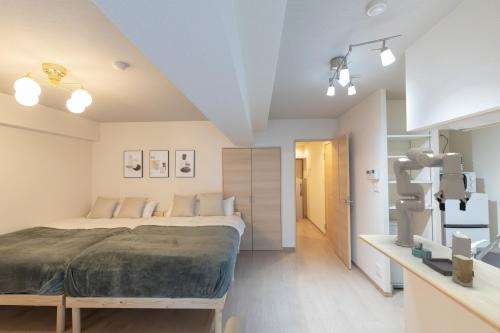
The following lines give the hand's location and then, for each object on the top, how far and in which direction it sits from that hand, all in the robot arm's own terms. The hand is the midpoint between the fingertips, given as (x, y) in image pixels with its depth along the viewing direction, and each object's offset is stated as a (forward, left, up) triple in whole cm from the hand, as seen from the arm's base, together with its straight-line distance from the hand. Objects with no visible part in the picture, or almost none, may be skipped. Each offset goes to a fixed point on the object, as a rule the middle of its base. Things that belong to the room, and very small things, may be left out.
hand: (452, 210), depth 126 cm
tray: (-3, -1, -31) cm, 31 cm away
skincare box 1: (-12, +13, -31) cm, 36 cm away
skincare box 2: (+13, -5, -31) cm, 34 cm away
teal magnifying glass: (-21, -3, -31) cm, 38 cm away
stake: (-22, -3, -31) cm, 38 cm away
